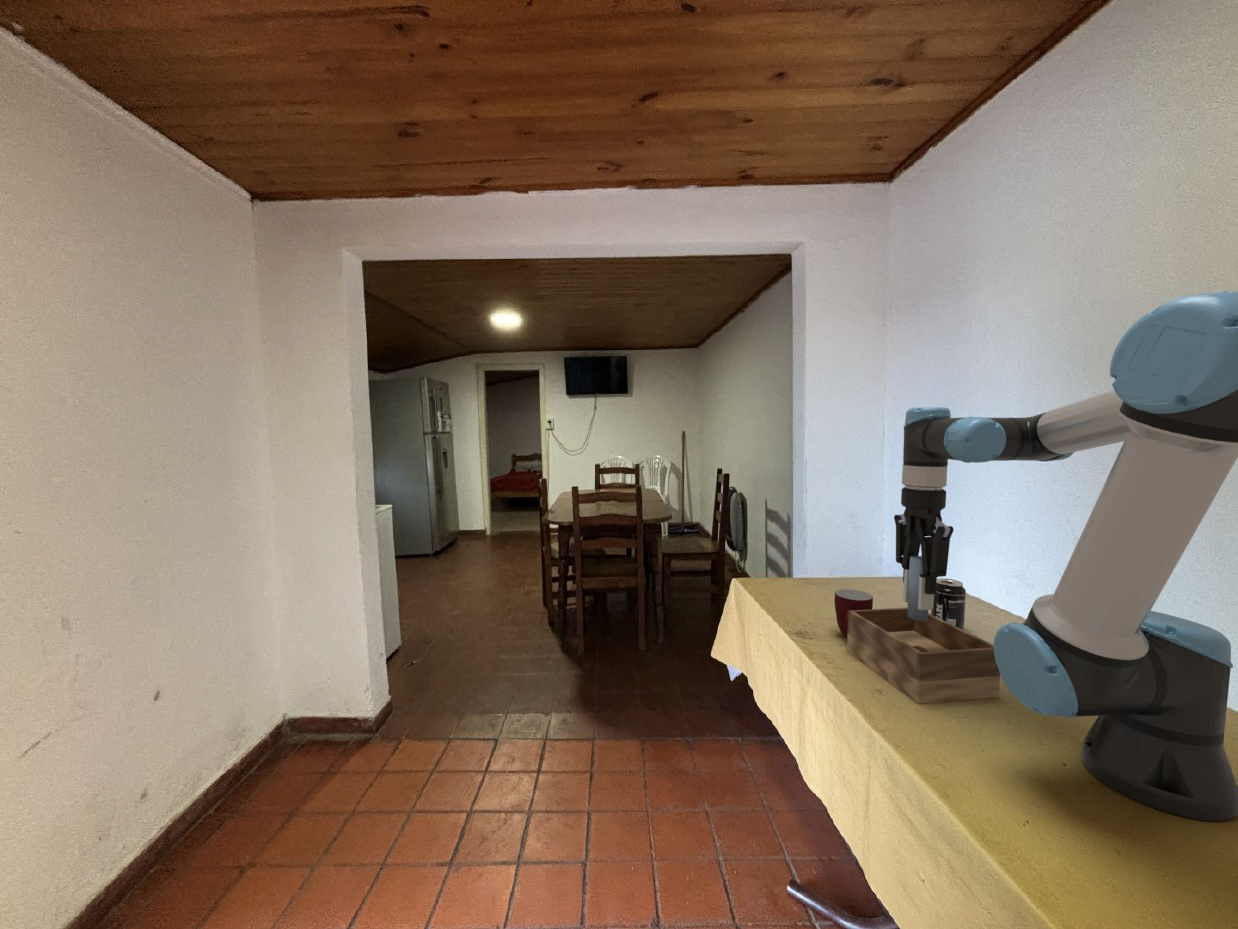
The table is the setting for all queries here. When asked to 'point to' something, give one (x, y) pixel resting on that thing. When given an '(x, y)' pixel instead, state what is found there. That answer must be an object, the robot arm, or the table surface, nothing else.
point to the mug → (850, 606)
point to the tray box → (923, 655)
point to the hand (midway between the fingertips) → (917, 604)
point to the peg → (915, 590)
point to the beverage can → (950, 602)
